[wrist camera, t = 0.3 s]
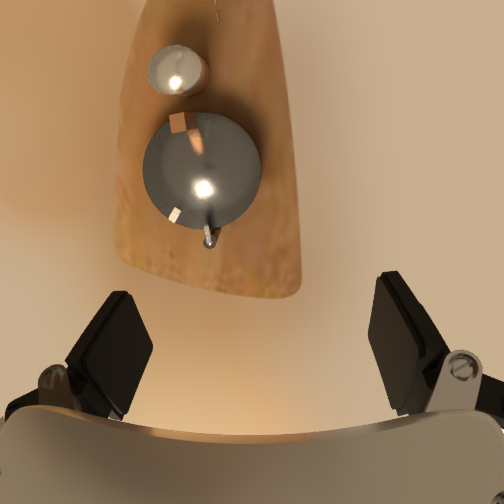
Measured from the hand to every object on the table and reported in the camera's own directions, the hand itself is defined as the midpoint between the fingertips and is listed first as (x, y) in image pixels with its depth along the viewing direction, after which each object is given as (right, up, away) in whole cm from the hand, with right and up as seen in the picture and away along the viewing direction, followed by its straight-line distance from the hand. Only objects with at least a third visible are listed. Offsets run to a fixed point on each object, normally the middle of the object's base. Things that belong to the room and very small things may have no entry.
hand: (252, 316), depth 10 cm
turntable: (-6, +13, +24) cm, 28 cm away
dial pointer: (-5, +6, +29) cm, 30 cm away
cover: (-8, +25, +19) cm, 33 cm away
